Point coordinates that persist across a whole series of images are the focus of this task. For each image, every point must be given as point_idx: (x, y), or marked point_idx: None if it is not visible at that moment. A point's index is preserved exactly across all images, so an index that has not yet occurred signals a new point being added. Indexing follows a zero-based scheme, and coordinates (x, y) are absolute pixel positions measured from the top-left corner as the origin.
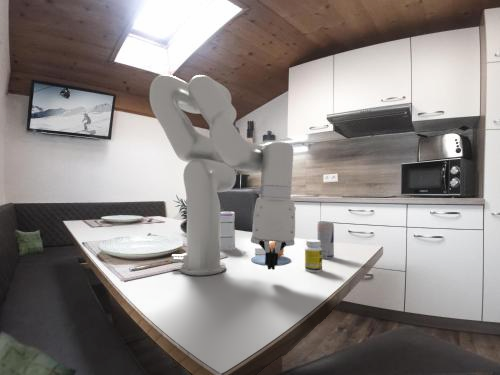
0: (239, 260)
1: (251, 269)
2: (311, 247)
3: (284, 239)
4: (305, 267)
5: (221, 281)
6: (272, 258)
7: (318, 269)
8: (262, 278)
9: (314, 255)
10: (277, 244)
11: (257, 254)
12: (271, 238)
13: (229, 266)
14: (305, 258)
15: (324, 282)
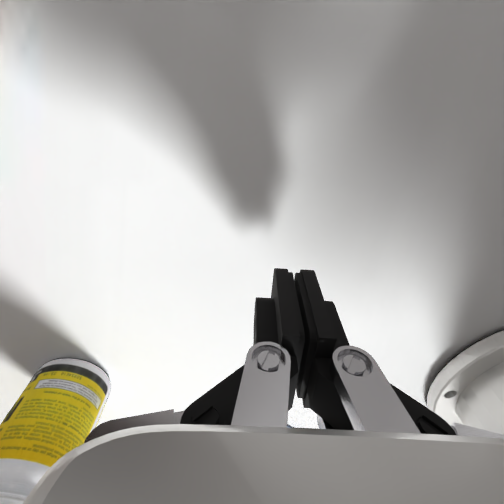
0: None
1: None
2: (19, 487)
3: (197, 448)
4: (106, 387)
5: (491, 265)
6: (299, 312)
7: (46, 368)
8: None
9: (25, 432)
10: (273, 412)
11: None
12: (395, 459)
13: None
14: (89, 427)
15: (21, 249)
